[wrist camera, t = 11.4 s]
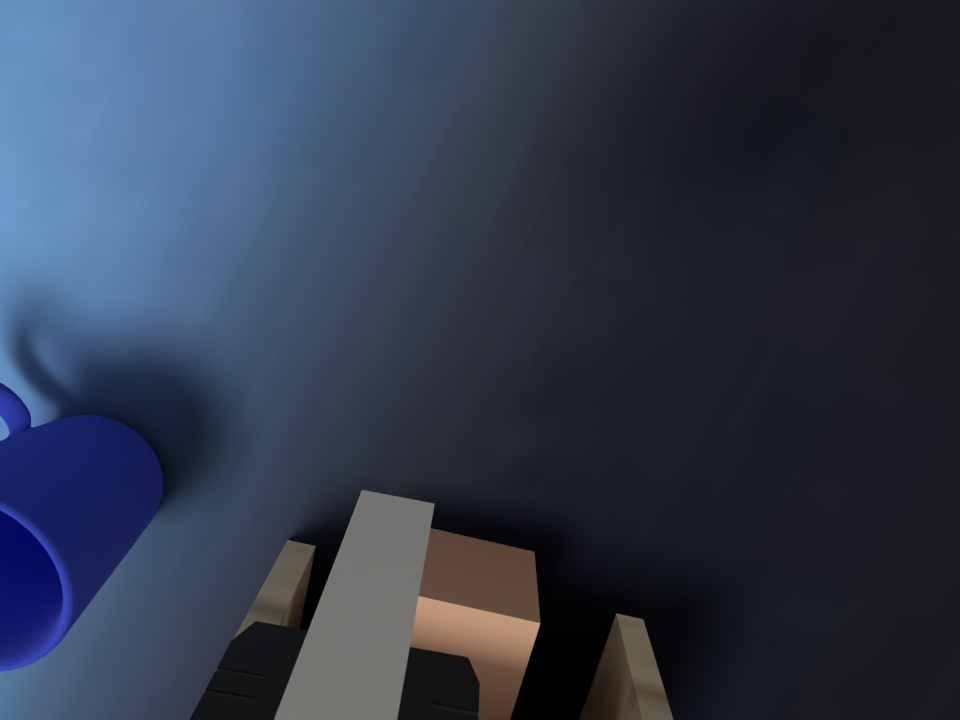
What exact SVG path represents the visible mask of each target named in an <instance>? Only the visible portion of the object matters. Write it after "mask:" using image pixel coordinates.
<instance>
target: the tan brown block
mask: <svg viewBox="0 0 960 720" xmlns="http://www.w3.org/2000/svg"><path fill="white" fill-rule="evenodd" d="M539 626H540V613H539V601H538V589H537V577H536V565H535V553H534V552H533V551H529V550H524V549H520V548H515V547H511V546H507V545H502V544H498V543H494V542H489V541H485V540H480V539H476V538H472V537H467V536H463V535H458V534H454V533H450V532H445V531H441V530H437V529H432V528H430V533H429V539H428V545H427V551H426V556H425V562H424V568H423V574H422V579H421V585H420V591H419V597H418V602H417V608H416V614H415V620H414V625H413V631H412V637H411V643H410V647H414V648H420V649H425V650H431V651H436V652H442V653H447V654H453V655H458V656H464V657H468V658H469V660H470V662H471V665H472V667H473V669H474V671H475V674H476V676H477V678H478V680H479V683H480V690H479V712H478V716H479V719H478V720H510V718H511V715H512V712H513V709H514V705H515V702H516V699H517V696H518V693H519V689H520V686H521V683H522V680H523V677H524V674H525V670H526V667H527V664H528V661H529V658H530V655H531V651H532V648H533V645H534V642H535V639H536V636H537V632H538V629H539Z"/></svg>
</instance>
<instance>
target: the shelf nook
mask: <svg viewBox="0 0 960 720" xmlns="http://www.w3.org/2000/svg"><path fill="white" fill-rule="evenodd" d="M315 547H316V546H313V545H308V544H304V543H299V542H295V541H290V540H287V542H286V544H285V546H284V548H283V550H282V551H281V553H280V555H279V557H278V559H277V561H276V562H275V564H274V566H273V568H272V570H271V572H270V573H269V575H268V577H267V579H266V581H265V582H264V584H263V586H262V588H261V590H260V592H259V593H258V595H257V597H256V599H255V601H254V603H253V604H252V606H251V608H250V610H249V612H248V614H247V615H246V617H245V619H244V621H243V623H242V624H241V626H240V628H239V630H238V632H237V634H236V635H235V637H237V636H238V635H239V634H240V633H241V632H243V631H244V630H245V629H246V628H248V627H249V626H250V625H251V624H252V623H254V622H255V621H259V622H264V623H270V624H275V625H281V626H286V627H292V628H297V629H300V625H301V620H302V615H303V610H304V604H305V599H306V594H307V589H308V583H309V578H310V573H311V568H312V563H313V557H314V552H315ZM235 637H234V638H235ZM216 671H217V670H216ZM579 720H673V717H672V713H671V710H670V707H669V703H668V700H667V697H666V693H665V690H664V687H663V683H662V680H661V677H660V673H659V670H658V667H657V663H656V660H655V657H654V654H653V650H652V647H651V644H650V640H649V637H648V634H647V630H646V627H645V624H644V620H643V619H639V618H635V617H630V616H626V615H621V614H617V613H616V616H615V619H614V622H613V625H612V627H611V630H610V633H609V636H608V639H607V642H606V645H605V647H604V650H603V653H602V656H601V659H600V662H599V665H598V667H597V670H596V673H595V676H594V679H593V682H592V685H591V687H590V690H589V693H588V696H587V699H586V702H585V705H584V708H583V710H582V713H581V716H580V719H579Z"/></svg>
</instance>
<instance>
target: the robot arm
mask: <svg viewBox="0 0 960 720" xmlns="http://www.w3.org/2000/svg"><path fill="white" fill-rule="evenodd" d="M433 510H434V503H429V502H423V501H418V500H413V499H407V498H402V497H397V496H391V495H386V494H381V493H376V492H370V491H365V490H362V491H361V494H360V496H359V499H358V502H357V504H356V507H355V510H354V512H353V515H352V517H351V520H350V523H349V525H348V528H347V530H346V533H345V536H344V538H343V541H342V544H341V546H340V549H339V551H338V554H337V557H336V559H335V562H334V564H333V567H332V570H331V572H330V575H329V577H328V580H327V583H326V585H325V588H324V591H323V593H322V596H321V598H320V601H319V604H318V606H317V609H316V611H315V614H314V617H313V619H312V622H311V624H310V627H309V630H303V629H297V628H292V627H286V626H281V625H275V624H270V623H264V622H259V621H255V622H254V623H252V624H251V625H250V626H249V627H248V628H246V629H245V630H244V631H243V632H241V633H240V634H239V635H238V636H237V637H235V638H234V639H233V640H232V641H231V642H230V644H229V646H228V648H227V650H226V652H225V654H224V656H223V658H222V659H221V661H220V663H219V665H218V668H217V671H216V672H215V673H214V675H213V677H212V678H211V680H210V682H209V684H208V686H207V688H206V692H205V694H203V696H202V697H201V699H200V701H199V703H198V705H197V707H196V709H195V711H194V713H193V715H192V716H191V718H190V720H478V719H479V716H478V712H479V690H480V683H479V680H478V678H477V676H476V674H475V671H474V669H473V667H472V665H471V662H470V660H469V658H468V657H464V656H458V655H453V654H447V653H442V652H436V651H431V650H425V649H420V648H414V647H410V643H411V637H412V631H413V625H414V620H415V614H416V608H417V602H418V597H419V591H420V585H421V579H422V574H423V568H424V562H425V556H426V551H427V545H428V539H429V533H430V527H431V522H432V516H433Z"/></svg>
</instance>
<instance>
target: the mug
mask: <svg viewBox="0 0 960 720" xmlns="http://www.w3.org/2000/svg"><path fill="white" fill-rule="evenodd" d="M0 416H1V417H2V418H3V420H4V421H5V422H6V424H7V425H8V428H9V431H10V434H9V436H8V437H7V438H6V439H4V440H2V441H0V672H2V671H8V670H13V669H17V668H21V667H24V666H27V665H29V664H31V663H33V662H35V661H37V660H39V659H40V658H42V657H44V656H45V655H46V654H48V653H49V652H50V651H52V650H53V649H54V648H55V647H56V646H57V645H58V644H59V643H60V641H61V640H62V639H63V638H64V636H65V635H66V634H67V632H68V631H69V630H70V628H71V627H72V626H73V624H74V623H75V622H76V620H77V619H78V618H79V616H80V615H81V614H82V612H83V611H84V610H85V608H86V607H87V606H88V604H89V603H90V602H91V600H92V599H93V598H94V596H95V595H96V594H97V592H98V591H99V590H100V588H101V587H102V586H103V584H104V583H105V582H106V580H107V579H108V578H109V576H110V575H111V574H112V572H113V571H114V570H115V568H116V567H117V566H118V564H119V563H120V562H121V560H122V559H123V558H124V556H125V555H126V554H127V552H128V551H129V550H130V548H131V547H132V546H133V545H134V543H135V542H136V541H137V539H138V538H139V537H140V535H141V534H142V533H143V531H144V530H145V529H146V527H147V526H148V525H149V523H150V522H151V520H152V519H153V517H154V515H155V513H156V511H157V509H158V507H159V504H160V501H161V497H162V492H163V475H162V470H161V466H160V463H159V461H158V458H157V456H156V454H155V453H154V451H153V449H152V448H151V446H150V445H149V444H148V443H147V441H146V440H145V439H144V438H143V437H142V436H141V435H139V434H138V433H137V432H136V431H135V430H133V429H132V428H130V427H128V426H127V425H125V424H123V423H121V422H119V421H116V420H114V419H110V418H107V417H102V416H96V415H78V416H71V417H66V418H63V419H59V420H56V421H52V422H49V423H46V424H43V425H40V426H37V427H33V428H31V416H30V412H29V410H28V409H27V407H26V406H25V404H24V403H23V401H22V400H21V399H20V398H19V397H18V396H17V395H16V394H15V393H14V392H13V391H12V390H11V389H9V388H8V387H6V386H5V385H3V384H1V383H0Z"/></svg>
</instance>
